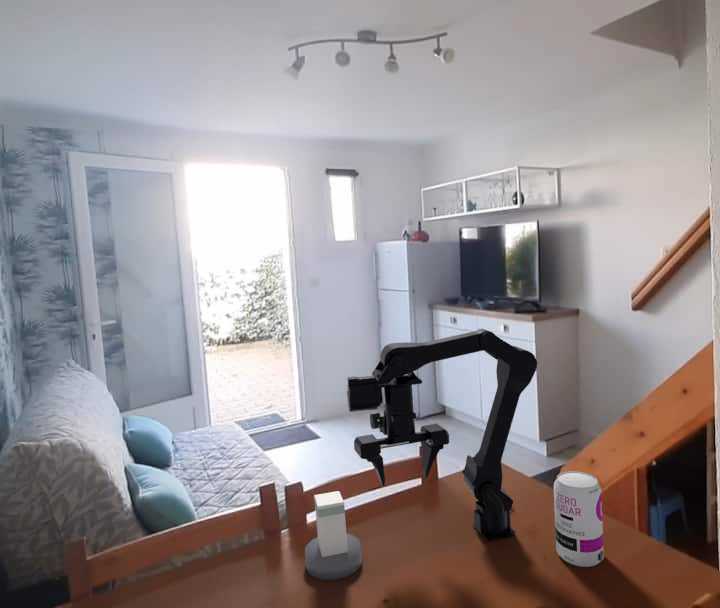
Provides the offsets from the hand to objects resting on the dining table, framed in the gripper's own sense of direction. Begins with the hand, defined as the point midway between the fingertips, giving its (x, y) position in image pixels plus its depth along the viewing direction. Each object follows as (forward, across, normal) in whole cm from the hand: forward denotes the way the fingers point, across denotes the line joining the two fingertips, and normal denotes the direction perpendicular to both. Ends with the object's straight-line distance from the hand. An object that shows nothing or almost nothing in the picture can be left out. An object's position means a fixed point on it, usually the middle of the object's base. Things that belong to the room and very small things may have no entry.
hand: (404, 481), depth 104 cm
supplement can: (+13, -28, +17) cm, 35 cm away
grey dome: (+13, +16, +1) cm, 21 cm away
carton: (+10, +16, +1) cm, 19 cm away
